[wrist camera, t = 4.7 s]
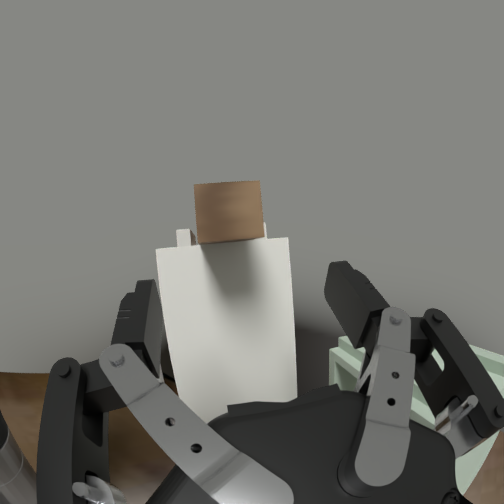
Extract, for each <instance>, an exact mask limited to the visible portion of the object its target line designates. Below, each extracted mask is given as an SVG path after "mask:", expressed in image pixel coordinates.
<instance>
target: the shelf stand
mask: <svg viewBox="0 0 504 504" xmlns="http://www.w3.org/2000/svg"><path fill="white" fill-rule="evenodd" d="M176 232H177V245H178V247H172V248H162V249H156V257H157V268H158V277H159V285H160V294H161V301H162V309H163V315H164V322H165V328H166V334H167V340H168V346H169V351H170V357H171V362H172V367H173V371H174V377H175V381H176V386H177V390H178V395H179V398H180V399H181V400H182V401H183V402H184V403H185V404H186V405H187V406H188V407H189V408H190V409H191V410H192V411H193V412H194V413H195V414H196V415H197V416H198V417H200V418H201V419H202V420H203V421H204V422H205V423H206V424H207V423H208V422H210V421H211V420H213V419H214V418H216V417H218V416H220V415H222V414H224V413H227V412H228V409H227V405H232V404H240V403H247V402H254V401H262V402H288V401H291V400H293V399H295V398H297V375H296V351H295V330H294V312H293V296H292V282H291V269H290V256H289V243H288V238H275V239H267V234H266V223H264V234H265V237H263V238H258V239H252V240H247V241H239V242H227V243H216V244H205V245H196V241H195V235H194V234H193V233H192V231H191V230H190V229H181V230H177V231H176Z"/></svg>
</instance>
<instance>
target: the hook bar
mask: <svg viewBox="0 0 504 504" xmlns="http://www.w3.org/2000/svg"><path fill="white" fill-rule="evenodd" d="M194 194H195V210H196V224H197V236H198V243H199V244H200V245H205V244H216V243H227V242H239V241H247V240H252V239H258V238H263V237H265V234H264V223H263V212H262V202H261V191H260V181H241V182H240V181H239V182H222V183H208V184H195V185H194Z"/></svg>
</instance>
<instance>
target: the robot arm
mask: <svg viewBox="0 0 504 504" xmlns="http://www.w3.org/2000/svg"><path fill="white" fill-rule="evenodd" d="M324 293H325V298H326V301H327V302H328V304H329V306H330V307H331V309H332V311H333V313H334V314H335V316H336V318H337V319H338V321H339V323H340V325H341V326H342V328H343V330H344V331H345V333H346V335H347V337H348V338H349V340H350V342H351V344H352V345H353V347H354V349H358V348H362V347H364V348H365V352H364V355H363V359H362V363H361V368H360V372H359V376H358V379H357V383H356V386H355V389H354V391H349V390H340V388H339V386H338V384H337V383H336V384H333V385H329V386H325V387H322V388H318V389H314V390H311V391H309V392H307V393H306V394H303V395H301V396H299V397H297V398H295V399H293V400H291V401H288V402H262V401H254V402H247V403H240V404H232V405H227V409H228V412H227V413H224V414H222V415H220V416H218V417H216V418H214V419H213V420H211V421H210V422H208V423H207V424H206V423H205V422H204V421H203V420H202V419H201V418H200V417H198V416H197V415H196V414H195V413H194V412H193V411H192V410H191V409H190V408H189V407H188V406H187V405H186V404H185V403H184V402H183V401H182V400H181V399H180V398H179V397H178V396H177V395H176V394H175V393H174V392H173V391H172V390H171V389H170V388H169V387H168V386H167V385H166V384H165V383H163V382H162V383H160V382H159V381H158V380H157V379H160V352H161V335H162V334H161V333H162V318H163V316H162V308H161V303H160V299H159V295H158V291H157V287H156V283H155V280H154V279H152V280H139V281H137V284H136V288H135V292H134V293H127V294H126V296H125V297H124V298H123V299H122V301H121V304H120V308H119V312H118V315H117V319H116V324H115V328H114V332H113V337H112V341H111V346H109V347H107V348H106V349H105V350H103V352H102V353H101V355H100V358H99V359H98V360H95V361H92V362H89V363H85V364H81V365H80V364H79V363H78V362H77V361H76V360H75V359H73V358H63V359H60V360H58V361H57V362H56V363H55V364H54V365H53V367H52V369H51V371H50V375H49V380H48V384H47V389H46V394H45V399H44V405H43V411H42V417H41V424H40V432H39V441H38V453H37V474H36V472H35V471H34V469H33V468H32V466H31V465H30V463H29V462H28V460H27V459H26V457H25V456H24V454H23V452H22V451H21V449H20V447H19V446H18V444H17V442H16V441H15V439H14V437H13V435H12V433H11V431H10V429H9V428H8V426H7V424H6V422H5V420H4V418H3V416H2V413H1V411H0V504H127V503H126V500H125V497H124V495H123V493H122V492H121V491H120V489H118V488H117V487H116V486H114V485H112V484H110V477H109V458H108V414H109V411H112V410H116V409H119V408H123V407H126V406H127V407H128V408H129V410H130V411H131V412H132V413H133V415H134V416H135V417H136V419H137V420H138V421H139V422H140V424H141V425H142V426H143V427H144V429H145V430H146V431H147V432H148V433H149V435H150V436H151V437H152V438H153V439H154V440H155V442H156V443H157V444H158V445H159V446H160V447H161V448H162V449H163V450H164V452H165V453H166V454H167V455H168V456H169V457H170V458H171V459H172V460H173V461H174V462H175V463H176V465H175V466H174V467H173V469H172V470H171V471H170V473H169V474H168V475H167V477H166V478H165V479H164V481H163V482H162V483H161V485H160V486H159V487H158V488H157V490H156V491H155V492H154V493H153V495H152V496H151V497H150V499H149V500H148V501H147V502H146V504H473V503H471V502H470V501H468V500H467V499H466V498H465V497H464V496H463V495H462V494H461V493H460V492H459V490H458V488H457V483H456V475H455V462H456V459H457V458H458V457H460V456H463V455H465V454H466V453H468V452H469V451H471V450H473V449H474V448H475V447H477V446H478V445H480V444H481V443H483V442H484V441H486V440H487V439H488V438H490V437H491V436H492V435H494V434H495V433H496V432H498V431H499V430H500V429H501V428H502V427H504V398H503V397H502V395H501V393H500V391H499V390H498V388H497V386H496V385H495V383H494V382H493V380H492V378H491V377H490V375H489V374H488V372H487V371H486V369H485V368H484V366H483V365H482V363H481V362H480V360H479V359H478V357H477V356H476V354H475V353H474V351H473V350H472V349H471V347H470V346H469V344H468V343H467V342H466V341H465V339H464V338H463V336H462V335H461V334H460V332H459V331H458V330H457V328H456V327H455V326H454V324H453V323H452V322H451V320H450V319H449V318H448V317H447V315H446V314H445V313H443V312H442V311H440V310H438V309H434V308H433V309H428V310H427V311H426V312H425V314H424V316H423V317H409V315H408V314H407V313H406V312H405V311H404V310H402V309H400V308H396V307H390V306H389V304H388V303H387V302H386V301H385V299H384V298H383V297H382V296H381V294H380V293H379V292H378V291H377V289H375V287H374V286H373V285H372V283H370V281H369V280H368V278H367V277H366V276H365V275H364V274H362V273H361V272H359V271H358V270H354V269H353V268H352V267H351V265H350V264H349V263H348V262H347V261H338V262H331V263H330V265H329V268H328V274H327V278H326V283H325V288H324ZM434 349H436V351H437V352H438V354H439V355H440V357H441V358H442V360H443V362H444V370H443V371H442V370H441V368H440V366H439V365H438V363H437V362H436V360H435V359H434V357H433V355H432V352H433V351H434ZM414 380H415V382H416V383H417V385H418V387H419V389H420V391H421V393H422V394H423V396H424V398H425V400H426V402H427V404H428V406H429V408H430V410H431V412H432V414H433V416H434V418H435V428H434V429H433V430H432V429H430V428H428V427H426V426H424V425H422V424H420V423H418V422H416V421H414V420H412V419H410V411H411V404H412V395H413V385H414Z"/></svg>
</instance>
